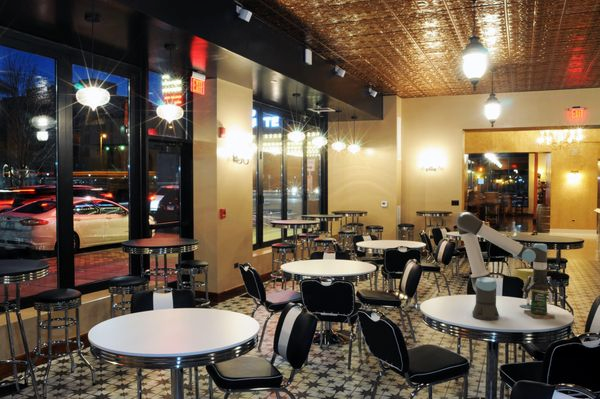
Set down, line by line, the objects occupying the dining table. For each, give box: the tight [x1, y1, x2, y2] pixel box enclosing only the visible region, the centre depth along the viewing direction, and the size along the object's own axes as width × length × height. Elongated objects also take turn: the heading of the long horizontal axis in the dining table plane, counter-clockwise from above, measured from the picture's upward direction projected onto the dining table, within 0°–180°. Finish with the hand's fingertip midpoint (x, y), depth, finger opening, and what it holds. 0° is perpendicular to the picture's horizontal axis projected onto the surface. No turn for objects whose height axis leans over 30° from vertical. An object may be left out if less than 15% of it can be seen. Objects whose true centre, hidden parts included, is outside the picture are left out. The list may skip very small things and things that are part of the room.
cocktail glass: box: [514, 267, 534, 310], centre depth 336 cm, size 18×18×25 cm
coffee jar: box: [529, 284, 549, 315], centre depth 313 cm, size 10×8×19 cm
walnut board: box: [523, 309, 556, 319], centre depth 313 cm, size 13×13×2 cm
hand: (539, 303), depth 313 cm, fingers open, 13 cm apart
